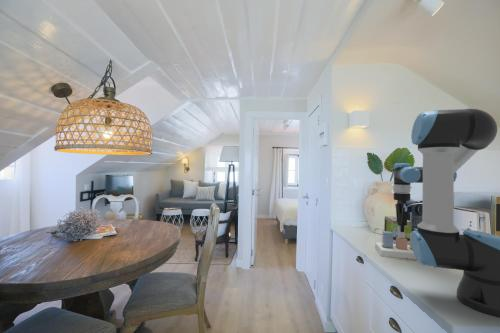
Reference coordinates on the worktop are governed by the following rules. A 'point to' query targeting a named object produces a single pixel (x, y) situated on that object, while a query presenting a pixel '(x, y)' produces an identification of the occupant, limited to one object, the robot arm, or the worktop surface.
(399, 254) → the board
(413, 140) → the robot arm
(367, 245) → the worktop surface
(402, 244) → the terracotta block
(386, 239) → the slate block
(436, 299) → the worktop surface
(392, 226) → the tea box
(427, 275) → the worktop surface
